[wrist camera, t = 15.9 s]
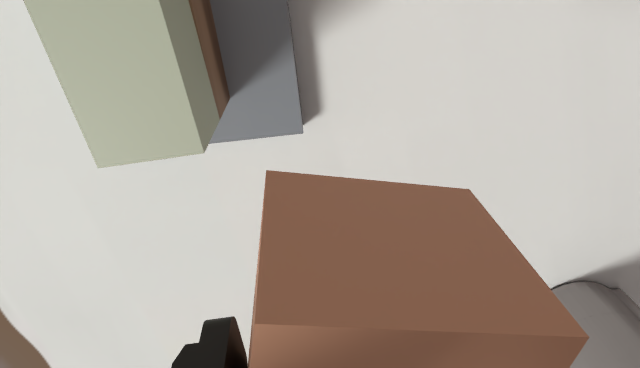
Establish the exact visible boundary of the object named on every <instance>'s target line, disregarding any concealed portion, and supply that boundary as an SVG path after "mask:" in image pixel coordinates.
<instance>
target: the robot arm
mask: <svg viewBox="0 0 640 368" xmlns="http://www.w3.org/2000/svg"><path fill="white" fill-rule="evenodd" d="M551 291H552V292H553V293H554V294H555V296H556V297H557V298H558V299H559V300H560V302H561V303H562V304H563V305H564V307H565V308H566V309H567V310H568V312H569V313H570V314H571V315H572V316H573V318H574V319H575V320H576V321H577V323H578V324H579V325H580V326H581V328H582V329H583V330H584V331H585V332H586V334H587V335H588V336H589V339H588V340H587V342H586V344H585V345H584V347H583V348H582V350H581V351H580V353H579V354H578V356H577V357H576V359H575V360H574V362H573V363H572V365H571V366H570V368H640V307H639V306H638V305H637V304H636V303H635V302H634V301H633V300H632V299H631V298H630V297H629V296H628V295H627V294H626V293H625V292H624V291H623V290H621V289H609V288H607V287H605V286H604V285H602V284H598V283H595V282H574V283H570V284H566V285H562V286H560V287H558V288H555V289H553V290H551ZM171 368H248V364H247V356H246V352H245V349H244V345H243V342H242V338H241V335H240V332H239V328H238V325H237V321H236V319H235V317H226V318H219V319H212V320H206V321H205V322H204V324H203V327H202V332H201V336H200V341H199V343H193V344H186V345H185V346H184V347H183V349H182V350H181V352H180V353H179V355H178V356H177V358H176V359H175V360H174V362H173V363H172V367H171Z"/></svg>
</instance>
